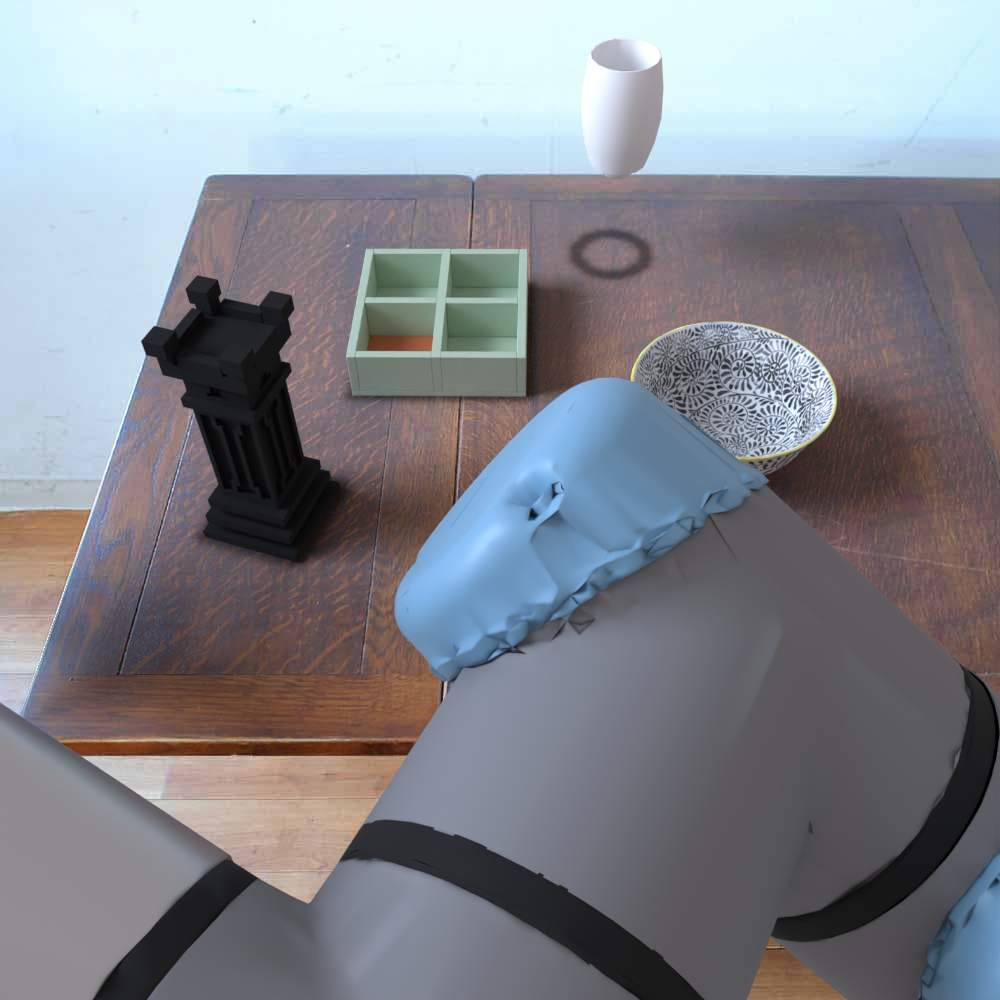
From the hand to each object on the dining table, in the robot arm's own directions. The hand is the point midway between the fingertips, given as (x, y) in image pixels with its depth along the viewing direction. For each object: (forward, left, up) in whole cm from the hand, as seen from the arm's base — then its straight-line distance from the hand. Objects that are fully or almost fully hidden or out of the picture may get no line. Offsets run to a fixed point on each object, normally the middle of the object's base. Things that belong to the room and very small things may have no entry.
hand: (645, 643), depth 55 cm
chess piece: (-27, +23, -17) cm, 39 cm away
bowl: (+10, +30, -17) cm, 36 cm away
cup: (+2, +57, -17) cm, 59 cm away
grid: (-14, +44, -17) cm, 49 cm away
